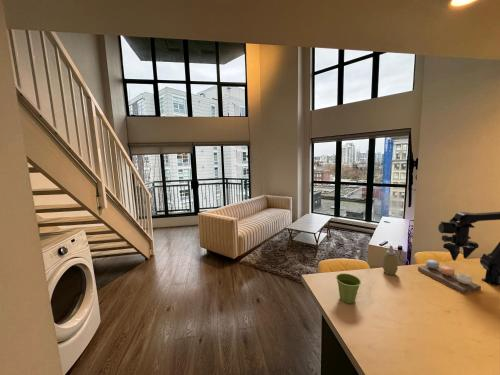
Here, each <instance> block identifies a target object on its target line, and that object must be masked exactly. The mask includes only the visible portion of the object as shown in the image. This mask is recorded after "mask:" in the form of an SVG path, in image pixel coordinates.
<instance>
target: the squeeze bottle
mask: <svg viewBox="0 0 500 375" xmlns="http://www.w3.org/2000/svg"><path fill="white" fill-rule="evenodd" d="M385 251H386V252H385V253H384V255H383V261H382V269H383V272H384V273H385V274H387V275H389V276H395V275H396V273H397V272H398V270H399V269H398V257H397V255H396V251H395V250H394V248H393V245H389V248H388V249H387V250H385Z"/></svg>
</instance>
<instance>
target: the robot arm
mask: <svg viewBox="0 0 500 375" xmlns="http://www.w3.org/2000/svg"><path fill="white" fill-rule="evenodd" d="M484 221H500V211H492V212H491V211H490V212H476V213H475V212H474V213H473V212H468V211H467V212H466V211H459V212H456V213H455V215H454V216H453V217H452V218H451V219H449V221H440V223H439V225H438V231H439V233H440V234H444V235H442V236H441V240H442V241H443V242H444V244H442V248H444V249H445V250H447V251H448V252H449V254H450V256H451V259H452V261H456V260H457V259H458V257H459V255H460V253H461V250H460V249H461V248H462V251H463V252H462V254H463V255H462V256H463V259H466V260H467V258H469V256H470V255H471V254H473V252H474V251H475V250H476V249H479V246H480V245H479V243H478V242H475V241H472V240H469V239H471V236H470V229H473V228H474V229H475V226H474V225H473V224H475V223H477V222H484ZM445 234H446V235H445ZM447 234H452V235H447ZM479 259H480V260H479V263H480V265H481V266H482V269H485V270H486V271H485V276H484V278H481V281H484V282H486V283H488V284H490V285H493V286H495V287H498V286H500V241H499V242H498V243H497V245H496V246H495V247H494V249H493V250H492V251H491V252H490V253H488V254H486V253H483V254H482V256H481V257H480V258H479Z"/></svg>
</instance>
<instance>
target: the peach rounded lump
mask: <svg viewBox="0 0 500 375" xmlns="http://www.w3.org/2000/svg"><path fill="white" fill-rule="evenodd" d="M440 268H441V271H440V272H441V273H442V274H444V275H445V276H446V277H449V276H454V274H455V273H456V270H455V269H454V268H453V267H450V266H446V265H442V266H440Z"/></svg>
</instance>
